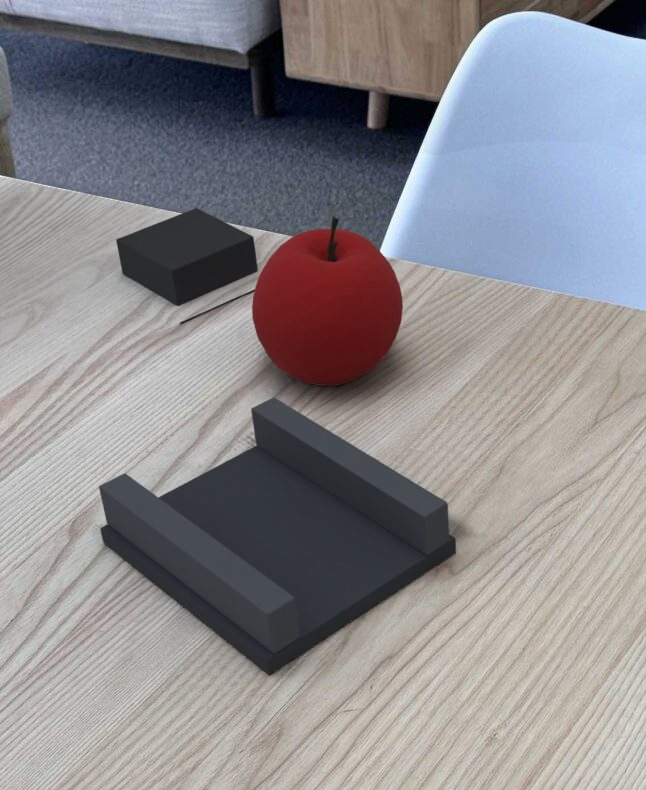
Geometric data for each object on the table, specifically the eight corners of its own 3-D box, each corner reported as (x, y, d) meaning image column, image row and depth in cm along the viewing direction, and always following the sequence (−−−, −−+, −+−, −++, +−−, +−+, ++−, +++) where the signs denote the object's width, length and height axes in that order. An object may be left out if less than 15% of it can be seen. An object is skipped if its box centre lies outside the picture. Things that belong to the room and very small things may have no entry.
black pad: (125, 291, 95) (115, 239, 93) (204, 258, 99) (196, 207, 97) (180, 324, 91) (171, 270, 89) (260, 289, 95) (254, 236, 93)
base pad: (103, 542, 73) (90, 489, 71) (285, 444, 80) (279, 393, 78) (269, 675, 64) (260, 619, 63) (456, 553, 72) (453, 498, 70)
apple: (272, 328, 91) (254, 187, 85) (411, 327, 91) (402, 185, 85) (249, 408, 83) (228, 258, 77) (401, 406, 83) (391, 256, 77)
